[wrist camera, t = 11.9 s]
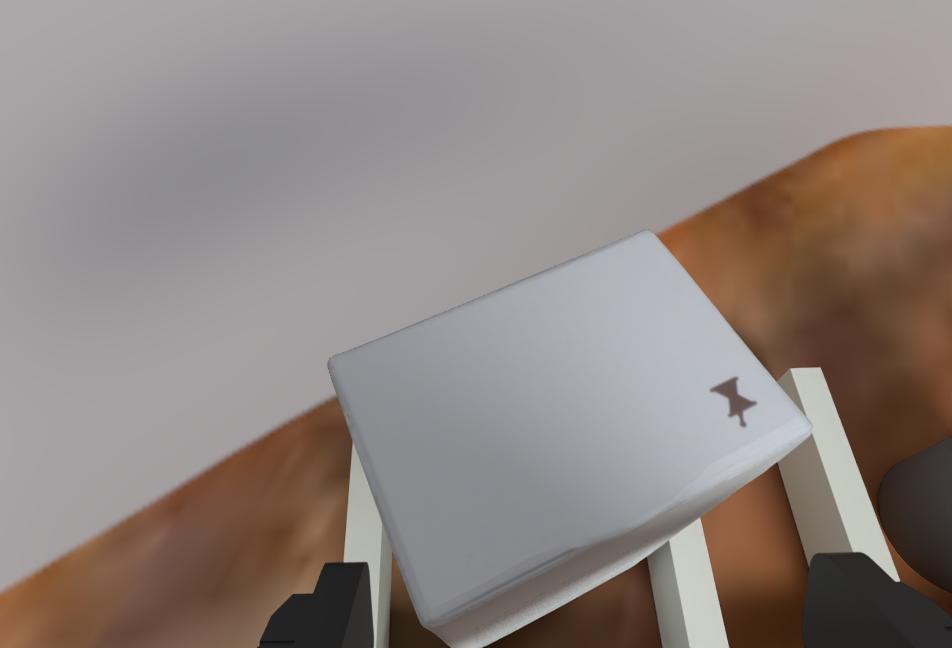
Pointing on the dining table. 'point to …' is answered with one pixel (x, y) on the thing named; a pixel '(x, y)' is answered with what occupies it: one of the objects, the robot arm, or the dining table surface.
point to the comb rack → (694, 526)
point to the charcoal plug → (921, 511)
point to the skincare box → (556, 434)
